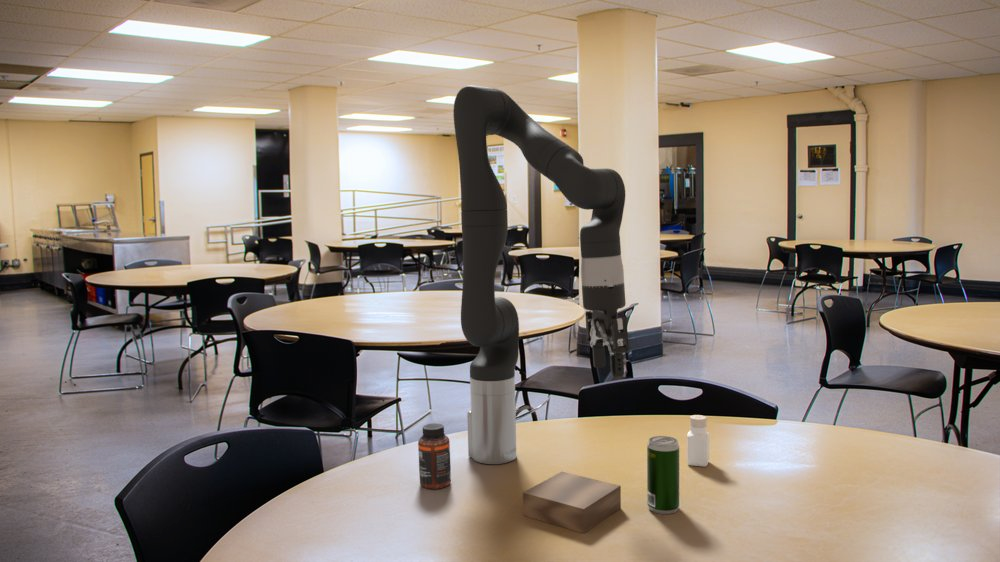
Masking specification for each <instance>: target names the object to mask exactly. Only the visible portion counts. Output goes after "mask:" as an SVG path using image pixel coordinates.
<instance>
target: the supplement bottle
mask: <svg viewBox="0 0 1000 562" xmlns="http://www.w3.org/2000/svg"><path fill="white" fill-rule="evenodd" d="M450 442H451V441H450V438H449V437H448V436H447V435H446V434H445V426H444V425H443V424H442V423H435V422H434V423H428V424H425V425H423V426H422V436H420V438H419V439H418V442H417V447H418V449H417V451H418V468H419V471H418V472H419V473H418V474H419V485H420V486H421V487H423V488H425V489H430V490H440V489H442V488H445V487H448V486H449V485H450V484H451V482H452V472H451V469H452V468H451V466H452V465H451V448H450V447H451V446H450V444H451V443H450Z"/></svg>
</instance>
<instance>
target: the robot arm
mask: <svg viewBox="0 0 1000 562" xmlns="http://www.w3.org/2000/svg"><path fill="white" fill-rule="evenodd" d="M452 111H453V113H452V114H453V115H452V116H453V126H454V133H455V140H456V149H457V155H458V157H457V158H458V164H459V165H458V166H459V180H460V182H459V183H460V217H461V218H460V220H461V234H462V235H461V236H462V290H461V291H462V292H461V306H460V324H461V325H460V326H461V330H462V333H463V336H464V338H465V339H466V341H467V342H468V343H469V344H471V346H474V347H476V348H477V347H479V350H478V353H477V355H476V357H475V358H474V359H473V360H472V361H471V363H470V365H469V386H470V387H469V388H470V389H469V390H470V391H469V392H470V410H469V411H468V412H467V414H466V416H467V418H466V419H467V422H466V423H467V448H468V449H467V451H468V452H467V453H468V455H467V456H468V457H469V458H472V460H473V461H475V462H476V463H481V464H485V465H500V464H506V463H509V462H512V461H514V460H515V459H516V458H517V417H516V415H517V414H516V381H515V380H516V376H515V375H516V374H515V373H516V372H515V369H516V366H517V364H518V359H519V348H520V346H519V345H520V343H519V342H520V341H519V340H520V321H519V316H518V315H519V314H518V311H517V308H516V307H515V305H514V304H513V303H512V302H511V301H510V300H509V299H508V298H505V297H501V296H497V297H496V295H495V293H496V292H495V291H496V290H495V284H496V283H495V282H496V281H495V279H496V272H497V269H498V265H499V262H500V259H501V257H502V254H503V251H504V248H505V245H506V241H507V237H508V227H509V226H508V204H507V203H508V201H507V198H506V194H505V193H504V190H503V188H502V186H501V184H500V181H499V179H498V177H497V176H496V174H495V172H494V170H493V168H492V166H491V162H490V160H489V155H488V143H487V136H493V135H496V136H498V137H501V138H503V139H505V140H508V141H509V142H511V143H513V144H514V145H516V146H517V147H518V148H519V149H520V151H521V153H522V155H523V157H524V159H525V160H526V162H527V163H528V164H529V165H530V166H531V167H532V168H533V169H535V170H536V171H537V172H538V173H540V174H542V175H543V176H544V177H545V178H547V179H548V180H549V181H551V182H552V183H554V184H555V186H556V187H557V189H558V190H559V191H560V192H561V194H562V195H563V196H564V197H565V199H566V200H567V201H568V202H569V203H571V204H572V205H574V206H576V207H577V208H579V209H582V210H591V211H592V212H591V217H590V221H589V222H588V223H587V224H585V225H583V226H582V227H581V228H580V231H579V242H580V243H579V245H580V257H581V258H580V260H581V261H580V279H581V280H580V281H581V293H582V294H581V295H582V307H583V309H584V310H585V330H586V332H585V333H586V342H587V343H589V345H590V347H591V348H592V361H593V367H594V368H596V369H599V368H605V367H606V365H607V361H606V360H607V359H606V358H607V357H606V346H607V349H608V352H609V365H610V375H611V376H612V377H614V378H617V377H619V378H620V377H622V376H623V377H624V375H625V367H624V366H625V364H624V355H625V354H626V353H629V352H630V345H629V333H628V322H627V318H626V317H619V314H618V310H619V309H623V308H625V306H626V291H625V289H626V287H625V274H624V272H625V271H624V265H623V260H622V248H621V235H620V231H621V225H622V222H623V217H624V209H625V203H626V187H625V182H624V181H623V180H624V179H623V178H622V177H621V175H620V173H618V172H617V170H614V169H611V168H589V167H587V166H585V165H584V159H583V157H582V155H581V154H580V153H579V152H578V151H577V150H576V149H575V148H573V147H571V146H570V145H569V144H567V143H566V142H564V141H562V140H561V139H560V138H558V137H557V136H555V135H554V134H552V133H550V132H549V131H547V130H546V129H545V128H544V127H543V126H542V125H540V124H539V123H538V122H536V120H534V119H533V118H532V117H531V116H530V115H529V114H528V113H526V111H524V110H523V109H522V108H521V107H520V105H519V104H518V103H517V102H516V101H515V100H514V99H513V98H512V97H511V96H510V95H509V94H507V92H505V91H503V90H502V89H498V88H495V87H487V86H480V85H479V86H478V85H465V86H463V87H462V88H460V89H459V91H458V92H457V93H456V96H455V99H454V103H453V110H452Z"/></svg>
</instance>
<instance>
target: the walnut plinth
mask: <svg viewBox="0 0 1000 562" xmlns="http://www.w3.org/2000/svg"><path fill="white" fill-rule="evenodd" d="M621 488H622V487H621V485H620V484H615V483H611V482H607V481H603V480H599V479H595V478H590V477H588V476H587V477H585V476H582V475H578V474H574V473H570V472H566V471H560V472H558V473H556V474H555V475H552V476H551V477H549V478H548V479H545V480H543V481H541V482H540V483H538V484H536V485H534V486H532V487H530V488H529V489H527V490H525V491H523V492H522V513H523V514H522V516H523V517H528V518H531V519H534V520H537V521H541V522H545V523H548V524H551V525H555V526H558V527H561V528H565V529H569V530H572V531H575V532H579V533H581V534H585V533H587V532H588V531H589V530H591V529H592V528H594V527H595V526H598V524H600V523H601V522H603V521H604V520H605V519H607V518H608V517H610V516H611V515H613V514H614V513H616V512H617V511H619V510H620V509H621V508H622V505H621V504H622V502H621V501H622V500H621V499H622V498H621V497H622V496H621V495H622V493H621V492H622V489H621Z"/></svg>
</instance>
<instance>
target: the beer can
mask: <svg viewBox="0 0 1000 562" xmlns="http://www.w3.org/2000/svg"><path fill="white" fill-rule="evenodd" d="M646 452H647V455H646V456H647V457H646V460H647V461H646V462H647V463H646V466H647V471H646V473H647V474H646V475H647V479H646V482H647V484H646V485H647V486H646V487H647V488H646V490H647V492H646V493H647V495H646V496H647V500H646V501H647V506H648V507H647V508H648V509H649V510H650V511H651V512H653V513H655V514H660V515H671V514H675V513H677V511H678V510H679V508H680V445H679V440H678V439H677V438H675V437H672V436H667V435H655V436H651V437H649V438H648V442H647V445H646Z"/></svg>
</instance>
